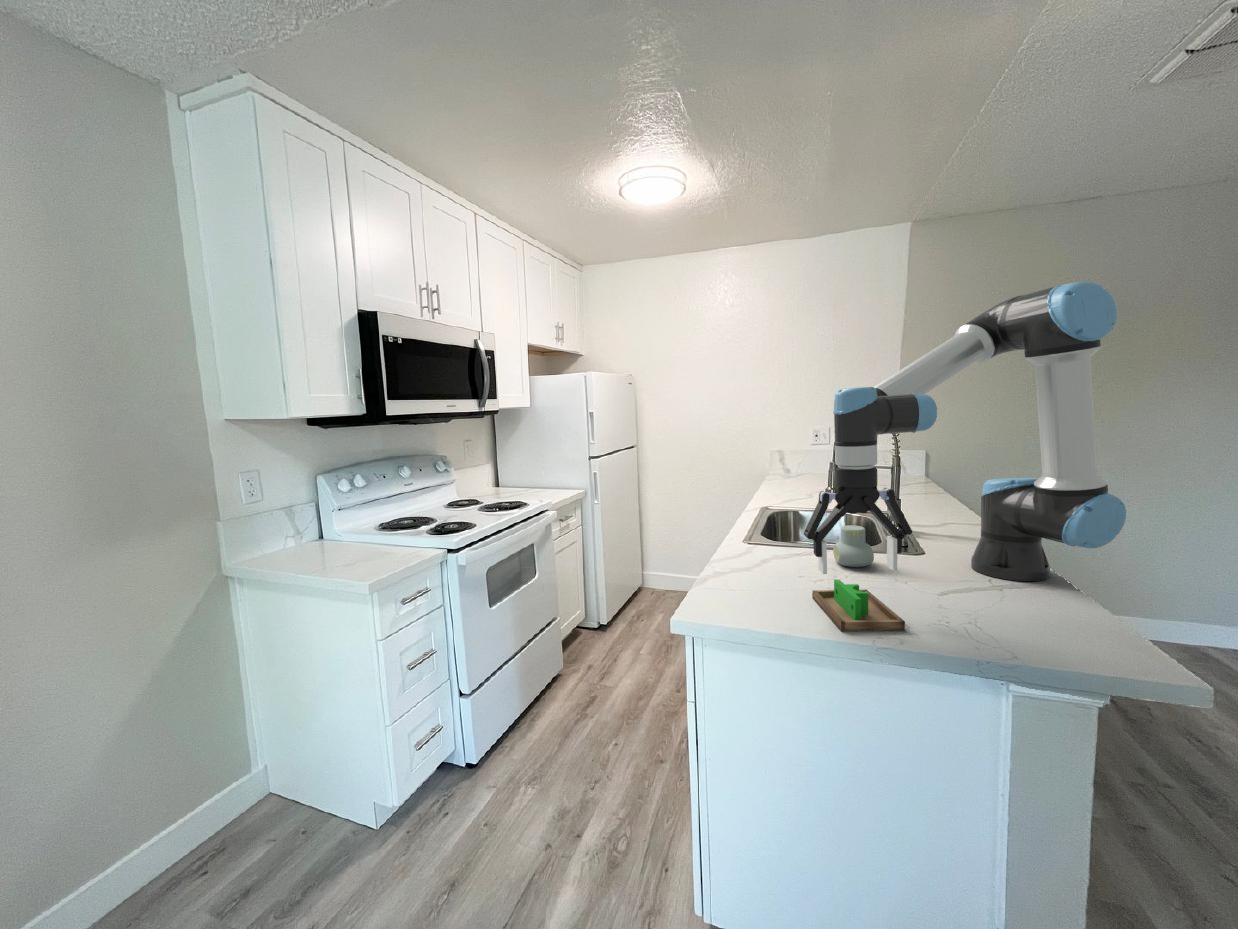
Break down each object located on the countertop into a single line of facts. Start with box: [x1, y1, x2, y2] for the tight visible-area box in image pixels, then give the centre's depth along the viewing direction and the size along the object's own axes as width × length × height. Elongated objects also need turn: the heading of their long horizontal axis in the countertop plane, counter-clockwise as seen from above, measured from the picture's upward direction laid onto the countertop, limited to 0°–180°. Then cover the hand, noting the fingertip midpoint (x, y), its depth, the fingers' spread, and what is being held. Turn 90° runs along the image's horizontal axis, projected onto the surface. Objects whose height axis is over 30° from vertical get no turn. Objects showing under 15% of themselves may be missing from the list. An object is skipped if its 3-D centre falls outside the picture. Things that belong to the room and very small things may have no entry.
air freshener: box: [832, 524, 875, 568], centre depth 131 cm, size 11×8×10 cm
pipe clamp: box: [833, 579, 869, 620], centre depth 101 cm, size 11×4×5 cm, turn 176°
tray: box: [811, 589, 906, 632], centre depth 101 cm, size 12×17×2 cm
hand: (857, 570), depth 100 cm, fingers open, 13 cm apart
